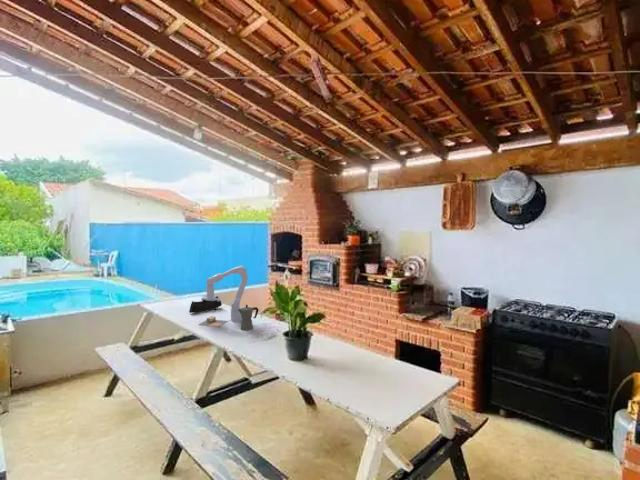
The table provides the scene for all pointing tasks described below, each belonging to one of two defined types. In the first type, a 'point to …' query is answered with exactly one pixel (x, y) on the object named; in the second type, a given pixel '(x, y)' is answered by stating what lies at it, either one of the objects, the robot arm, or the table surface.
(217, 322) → the mat
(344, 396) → the table surface
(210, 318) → the card box
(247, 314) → the coffeepot
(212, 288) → the robot arm
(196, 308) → the black tray
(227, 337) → the table surface
